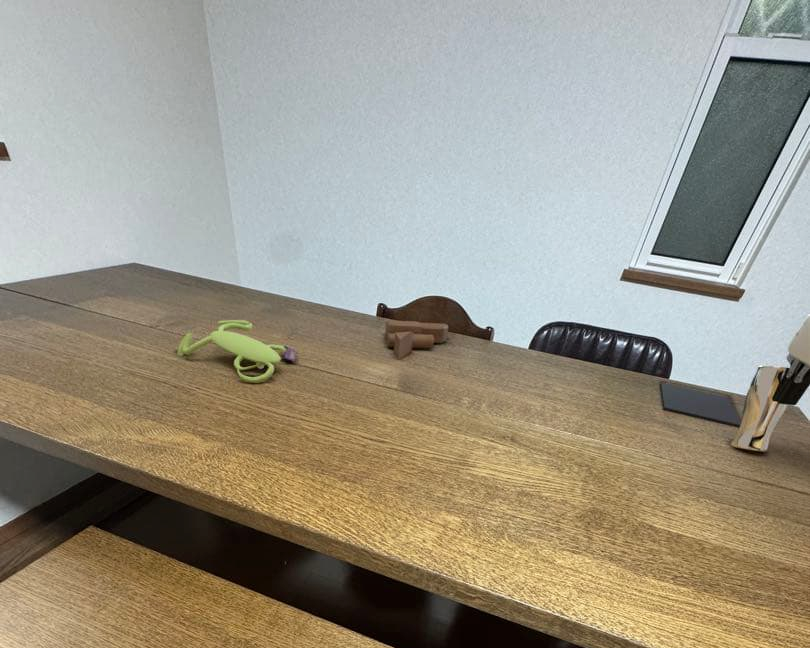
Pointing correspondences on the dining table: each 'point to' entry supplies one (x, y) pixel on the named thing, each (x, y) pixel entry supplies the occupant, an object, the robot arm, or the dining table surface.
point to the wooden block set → (413, 335)
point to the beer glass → (761, 409)
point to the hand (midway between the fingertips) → (784, 402)
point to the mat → (698, 404)
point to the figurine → (241, 348)
